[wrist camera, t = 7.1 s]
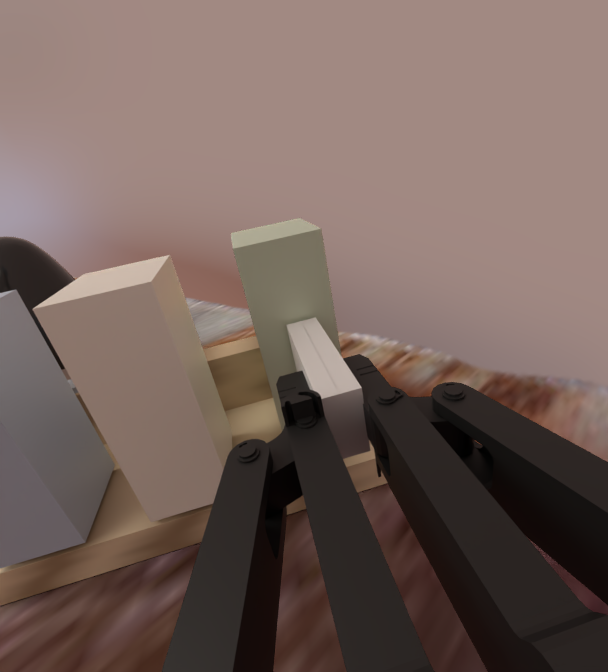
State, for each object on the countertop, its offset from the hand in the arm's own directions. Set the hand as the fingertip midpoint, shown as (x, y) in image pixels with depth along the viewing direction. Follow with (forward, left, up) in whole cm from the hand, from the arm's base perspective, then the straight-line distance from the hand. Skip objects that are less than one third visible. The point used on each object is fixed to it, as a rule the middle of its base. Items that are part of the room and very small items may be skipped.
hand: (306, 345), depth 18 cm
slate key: (-14, 0, -6) cm, 15 cm away
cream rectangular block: (-7, 0, -6) cm, 9 cm away
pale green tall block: (0, +3, -6) cm, 6 cm away
